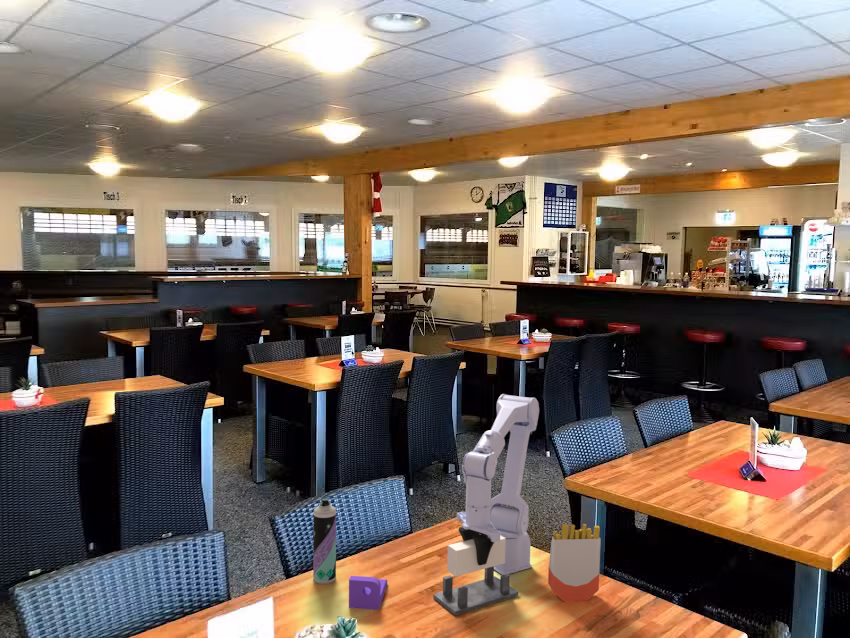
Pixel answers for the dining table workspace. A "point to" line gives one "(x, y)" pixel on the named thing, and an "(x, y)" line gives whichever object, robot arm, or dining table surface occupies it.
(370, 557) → the dining table surface
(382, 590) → the bracket
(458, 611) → the grey tray
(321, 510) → the spray can
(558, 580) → the french fries container
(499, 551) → the block
